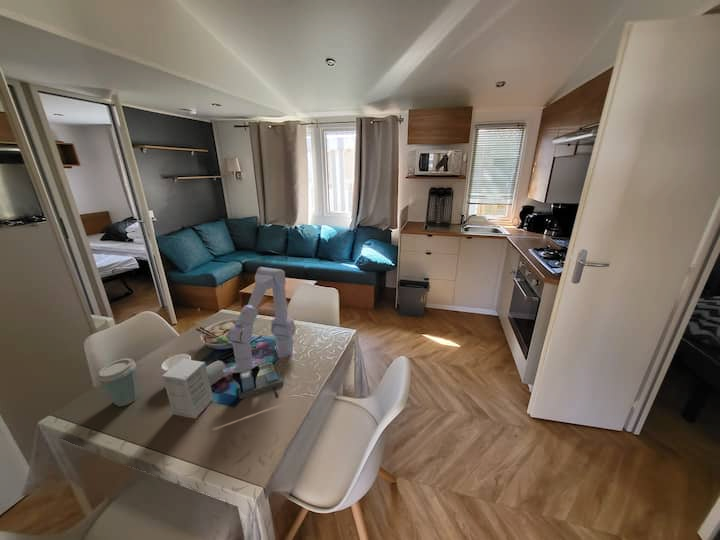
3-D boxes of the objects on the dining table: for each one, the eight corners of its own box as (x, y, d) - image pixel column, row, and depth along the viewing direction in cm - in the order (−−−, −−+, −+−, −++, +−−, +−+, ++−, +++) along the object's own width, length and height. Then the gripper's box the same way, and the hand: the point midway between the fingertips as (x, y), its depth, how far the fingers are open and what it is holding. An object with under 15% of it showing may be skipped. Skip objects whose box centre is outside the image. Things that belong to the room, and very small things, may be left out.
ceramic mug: (230, 376, 114) (227, 361, 111) (212, 389, 107) (208, 373, 104) (213, 368, 118) (210, 353, 116) (195, 381, 111) (191, 365, 109)
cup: (163, 381, 111) (157, 362, 108) (190, 368, 118) (186, 350, 114) (170, 394, 104) (164, 374, 101) (199, 380, 111) (194, 361, 108)
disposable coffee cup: (105, 415, 95) (91, 381, 90) (111, 395, 103) (98, 362, 98) (143, 403, 100) (132, 369, 95) (146, 384, 109) (136, 352, 104)
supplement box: (214, 399, 102) (206, 361, 97) (195, 419, 94) (185, 379, 88) (192, 394, 104) (183, 357, 99) (172, 414, 96) (160, 375, 90)
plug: (242, 386, 107) (240, 373, 105) (253, 382, 108) (251, 370, 106) (243, 393, 103) (241, 380, 101) (254, 389, 105) (252, 376, 103)
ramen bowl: (265, 340, 138) (263, 326, 135) (222, 365, 120) (219, 350, 117) (234, 325, 151) (232, 312, 148) (191, 346, 132) (188, 332, 130)
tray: (255, 370, 117) (254, 366, 117) (272, 365, 120) (271, 361, 120) (258, 380, 112) (257, 377, 111) (275, 375, 115) (275, 371, 114)
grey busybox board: (238, 387, 108) (237, 381, 107) (279, 374, 115) (278, 368, 114) (241, 411, 97) (240, 404, 96) (286, 395, 105) (286, 388, 103)
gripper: (221, 367, 94) (227, 398, 99) (265, 355, 101) (269, 385, 105) (220, 356, 100) (226, 385, 105) (262, 345, 107) (266, 373, 111)
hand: (247, 384), depth 105 cm, fingers closed on plug, 4 cm apart
